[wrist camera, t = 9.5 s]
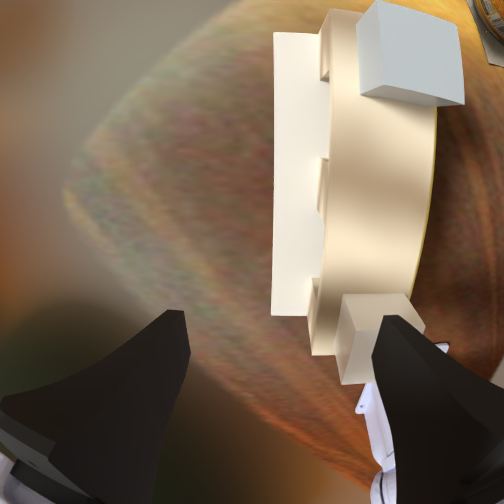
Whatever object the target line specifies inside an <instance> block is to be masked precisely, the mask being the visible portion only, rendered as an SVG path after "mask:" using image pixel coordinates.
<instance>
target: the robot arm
mask: <svg viewBox="0 0 504 504" xmlns="http://www.w3.org/2000/svg"><path fill="white" fill-rule="evenodd" d="M448 348H449V345H448V344H447V343H440V344H434V343H432V342H431V341H430V340H429V339H428V338H426V337H425V336H424V335H423V334H422V333H421V332H419V331H418V330H417V329H416V328H415V327H413V326H412V325H411V324H410V323H409V322H407V321H406V320H405V319H403V318H402V317H401V316H399V315H383V319H382V322H381V326H380V329H379V333H378V336H377V339H376V343H375V346H374V349H373V352H372V355H371V359H372V365H373V371H374V376H375V380H376V382H372V383H366V384H365V387H364V389H363V392H362V394H361V397H360V399H359V402H358V404H357V407H356V409H355V412H356V413H357V414H362V413H364V415H365V419H366V424H367V429H368V433H369V438H370V443H371V448H372V453H373V456H374V458H375V460H376V461H377V462H378V463H379V464H380V465H381V466H382V469H383V470H382V471H380V472H378V473H377V474H376V476H375V478H374V481H373V483H372V486H371V503H372V504H504V389H503V388H501V387H499V386H497V385H495V384H493V383H491V382H489V381H487V380H485V379H483V378H482V377H480V376H478V375H477V374H475V373H473V372H472V371H470V370H469V369H467V368H465V367H464V366H463V365H461V364H460V363H458V362H457V361H455V360H454V359H453V358H451V357H450V356H449V355H447V354H446V352H447V350H448ZM190 354H191V351H190V346H189V340H188V334H187V328H186V322H185V316H184V311H180V310H167V311H165V312H164V313H163V314H161V315H160V316H159V317H158V318H156V319H155V320H154V321H153V322H151V323H150V324H149V325H148V326H146V327H145V328H144V329H143V330H141V331H140V332H139V333H138V334H136V335H135V336H134V337H133V338H131V339H130V340H129V341H127V342H126V343H124V344H123V345H122V346H120V347H119V348H117V349H116V350H114V351H113V352H112V353H110V354H109V355H107V356H106V357H104V358H102V359H101V360H99V361H98V362H96V363H94V364H92V365H91V366H89V367H87V368H85V369H84V370H81V371H79V372H77V373H75V374H73V375H70V376H68V377H66V378H64V379H62V380H59V381H57V382H54V383H52V384H49V385H46V386H43V387H40V388H37V389H33V390H30V391H25V392H22V393H17V394H12V395H7V396H4V397H3V398H2V400H1V401H0V441H1V442H2V443H3V444H4V445H5V446H6V447H7V448H8V449H9V450H10V451H11V452H12V453H13V454H14V455H15V456H16V457H17V458H18V459H17V461H16V463H14V462H12V461H11V460H10V459H9V458H7V457H6V456H5V455H3V454H2V453H0V504H152V496H153V488H154V482H155V475H156V469H157V465H158V459H159V454H160V450H161V446H162V441H163V437H164V433H165V430H166V426H167V423H168V420H169V418H170V415H171V413H172V410H173V407H174V405H175V402H176V399H177V397H178V394H179V392H180V389H181V386H182V384H183V381H184V378H185V375H186V371H187V367H188V363H189V358H190Z"/></svg>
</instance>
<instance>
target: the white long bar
mask: <svg viewBox="0 0 504 504" xmlns="http://www.w3.org/2000/svg"><path fill="white" fill-rule="evenodd" d="M364 14H365V13H360V12H354V11H348V10H342V9H334V8H330V9H329V12H328V14H327V16H326V18H325V20H324V23H323V25H322V27H321V29H320V31H319V34H318V40H319V70H320V81H329V83H330V125H329V158H321V157H319V172H318V194H317V210H318V212H319V214H320V216H321V218H322V220H323V222H324V224H325V228H324V240H323V251H322V261H321V270H320V278H311V285H310V294H309V303H308V312H307V319H308V326H309V334H310V341H311V349H312V355H335V351H334V341H335V336H336V331H337V326H338V321H339V315H340V310H341V304H342V298H343V294H387V293H404V294H405V295H406V297H407V298H409V294H410V290H411V287H412V283H413V279H414V275H415V271H416V266H417V262H418V258H419V253H420V248H421V243H422V238H423V233H424V227H425V221H426V215H427V209H428V202H429V194H430V186H431V177H432V166H433V154H434V135H435V107H425V106H421V105H417V104H412V103H407V102H402V101H397V100H391V99H386V98H379V97H373V96H366V95H359V65H358V47H357V34H356V24H357V22H358V21H359V20H360V19H361V17H362V16H363V15H364Z"/></svg>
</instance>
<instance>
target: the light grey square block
mask: <svg viewBox="0 0 504 504" xmlns="http://www.w3.org/2000/svg"><path fill="white" fill-rule="evenodd" d="M356 34H357V47H358V65H359V95H366V96H373V97H379V98H386V99H391V100H397V101H402V102H407V103H412V104H417V105H421V106H425V107H437V106H451V105H465V103H464V81H463V69H462V59H461V50H460V43H459V37H458V31H457V25H456V24H453V23H451V22H448V21H446V20H443V19H440V18H438V17H435V16H432V15H429V14H426V13H423V12H420V11H417V10H414V9H411V8H407V7H404V6H400V5H396V4H393V3H389V2H384V1H380V0H375V1H374V3H373V4H372V5H371V6H370V8H369V9H368V10H367V11H366V12H365V14H364V15H363V16H362V17H361V19H360V20H359V21H358V22H357V24H356Z"/></svg>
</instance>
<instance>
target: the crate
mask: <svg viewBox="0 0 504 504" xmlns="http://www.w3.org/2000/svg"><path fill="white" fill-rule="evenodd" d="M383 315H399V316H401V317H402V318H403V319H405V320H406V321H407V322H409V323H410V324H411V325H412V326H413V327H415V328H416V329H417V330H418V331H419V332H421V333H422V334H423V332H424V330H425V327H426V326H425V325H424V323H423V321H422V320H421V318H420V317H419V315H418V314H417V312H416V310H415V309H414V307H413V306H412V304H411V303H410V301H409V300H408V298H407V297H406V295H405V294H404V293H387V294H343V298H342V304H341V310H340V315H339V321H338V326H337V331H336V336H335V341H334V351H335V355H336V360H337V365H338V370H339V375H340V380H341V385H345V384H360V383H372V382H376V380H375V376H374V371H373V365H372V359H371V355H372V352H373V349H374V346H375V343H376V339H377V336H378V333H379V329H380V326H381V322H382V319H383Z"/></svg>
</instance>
